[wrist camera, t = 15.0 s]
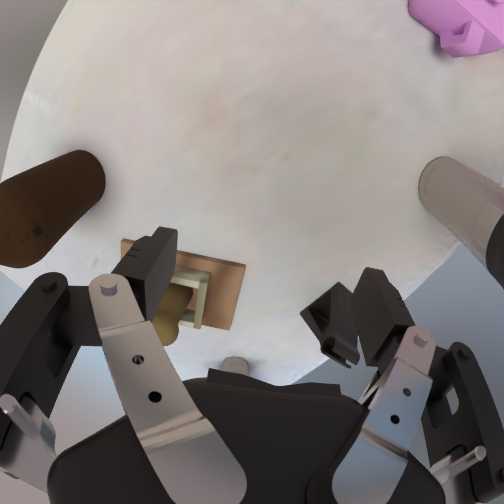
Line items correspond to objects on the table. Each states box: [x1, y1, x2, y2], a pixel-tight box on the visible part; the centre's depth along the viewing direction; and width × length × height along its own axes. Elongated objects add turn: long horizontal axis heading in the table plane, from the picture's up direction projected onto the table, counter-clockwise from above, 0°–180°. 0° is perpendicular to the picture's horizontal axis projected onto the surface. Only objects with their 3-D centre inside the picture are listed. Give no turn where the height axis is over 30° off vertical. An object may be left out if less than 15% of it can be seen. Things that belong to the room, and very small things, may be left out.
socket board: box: [121, 239, 245, 330], centre depth 46 cm, size 20×14×4 cm
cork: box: [152, 282, 193, 346], centre depth 42 cm, size 6×6×11 cm
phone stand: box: [300, 282, 360, 368], centre depth 43 cm, size 9×6×12 cm, turn 139°
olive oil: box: [0, 150, 105, 268], centre depth 27 cm, size 11×11×25 cm
